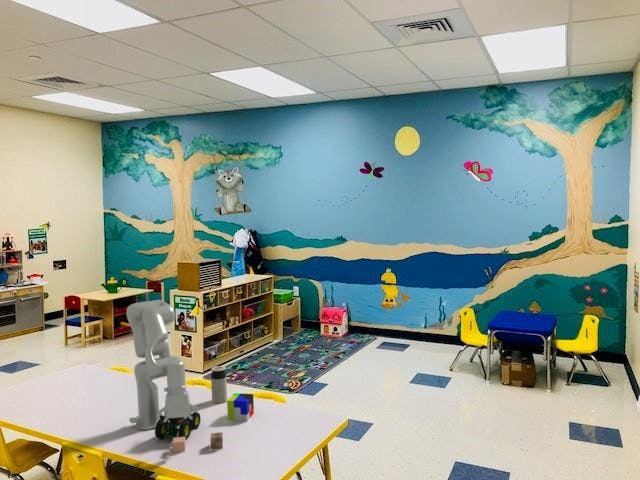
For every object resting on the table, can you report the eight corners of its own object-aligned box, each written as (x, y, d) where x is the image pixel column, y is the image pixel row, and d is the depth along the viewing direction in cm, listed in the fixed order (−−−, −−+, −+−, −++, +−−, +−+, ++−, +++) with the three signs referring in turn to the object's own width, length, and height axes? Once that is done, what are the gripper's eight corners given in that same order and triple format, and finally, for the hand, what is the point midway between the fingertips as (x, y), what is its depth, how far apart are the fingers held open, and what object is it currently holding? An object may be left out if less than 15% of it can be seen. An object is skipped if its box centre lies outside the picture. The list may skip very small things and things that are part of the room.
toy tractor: (202, 425, 253) (201, 395, 252) (182, 445, 232) (180, 412, 231) (175, 423, 256) (174, 393, 255) (152, 443, 235) (151, 411, 234)
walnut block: (210, 449, 226) (210, 438, 226) (211, 444, 231) (210, 433, 231) (222, 448, 227) (222, 437, 227) (222, 443, 232) (222, 432, 231)
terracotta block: (172, 454, 224) (172, 442, 224) (174, 448, 229) (173, 437, 229) (184, 453, 225) (184, 441, 225) (185, 447, 230) (185, 436, 230)
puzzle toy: (247, 421, 256) (246, 401, 256) (227, 420, 258) (227, 400, 258) (253, 413, 266) (253, 394, 265) (235, 412, 268) (234, 393, 267)
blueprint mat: (197, 456, 222) (197, 454, 222) (199, 443, 234) (198, 442, 234) (230, 452, 224) (230, 451, 224) (230, 440, 236) (230, 439, 236)
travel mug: (229, 398, 287) (228, 366, 286) (224, 403, 279) (222, 370, 278) (215, 397, 289) (214, 365, 287) (209, 403, 281) (208, 370, 280)
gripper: (154, 394, 220) (157, 434, 221) (196, 390, 223) (199, 430, 224) (157, 389, 228) (159, 427, 228) (198, 385, 230) (200, 423, 231)
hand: (179, 428), depth 226 cm, fingers open, 9 cm apart
